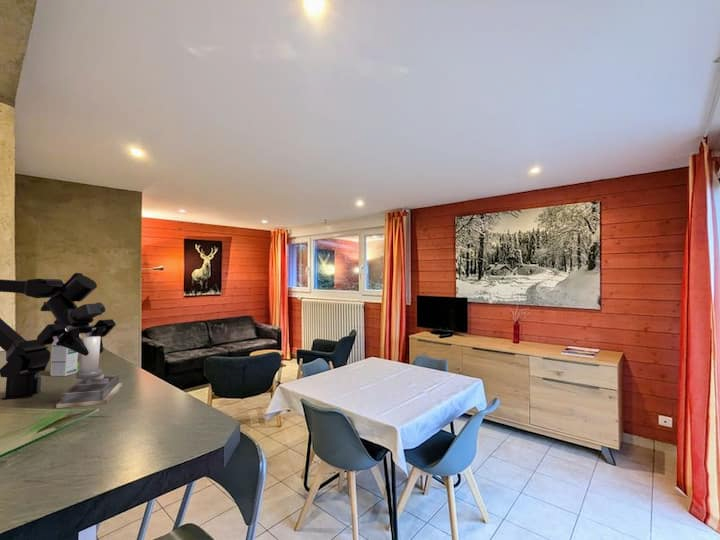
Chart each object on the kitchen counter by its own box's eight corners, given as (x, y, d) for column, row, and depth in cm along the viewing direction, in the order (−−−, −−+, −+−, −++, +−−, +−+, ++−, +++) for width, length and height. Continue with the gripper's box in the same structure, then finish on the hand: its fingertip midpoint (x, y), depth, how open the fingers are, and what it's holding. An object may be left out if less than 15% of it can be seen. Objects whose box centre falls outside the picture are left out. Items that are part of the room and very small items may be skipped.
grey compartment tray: (56, 408, 91) (57, 388, 91) (79, 389, 108) (80, 372, 108) (106, 403, 95) (107, 385, 96) (121, 385, 112) (122, 370, 112)
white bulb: (73, 379, 94) (76, 338, 95) (80, 374, 99) (83, 336, 100) (98, 377, 96) (101, 338, 97) (103, 373, 102) (106, 335, 102)
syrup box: (65, 376, 122) (68, 335, 123) (49, 376, 122) (52, 334, 123) (78, 372, 128) (81, 333, 129) (63, 372, 128) (66, 332, 129)
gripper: (48, 293, 91) (79, 338, 88) (113, 293, 109) (140, 330, 106) (23, 322, 92) (52, 367, 89) (91, 317, 110) (117, 354, 107)
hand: (94, 353), depth 98 cm, fingers closed on white bulb, 4 cm apart
